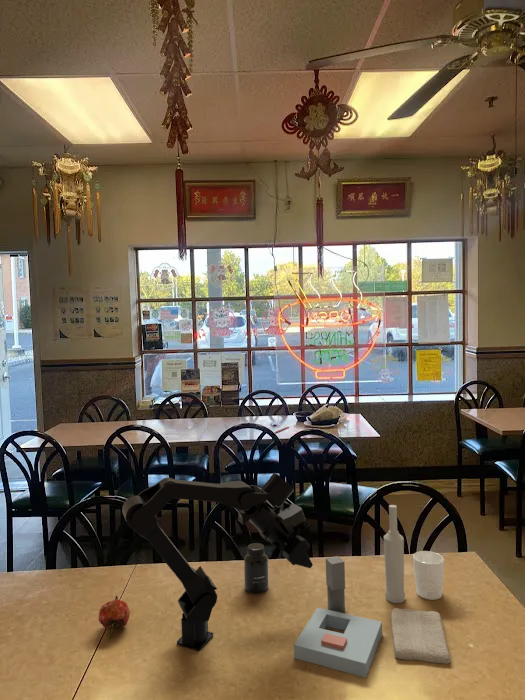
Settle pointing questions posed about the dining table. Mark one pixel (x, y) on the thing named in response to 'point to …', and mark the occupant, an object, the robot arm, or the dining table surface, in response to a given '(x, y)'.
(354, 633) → the socket plate
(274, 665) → the dining table surface
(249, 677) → the dining table surface
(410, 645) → the washcloth
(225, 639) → the dining table surface
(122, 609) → the pomegranate
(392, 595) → the bottle
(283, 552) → the robot arm
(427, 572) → the white cup
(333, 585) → the plug
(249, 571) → the supplement bottle
